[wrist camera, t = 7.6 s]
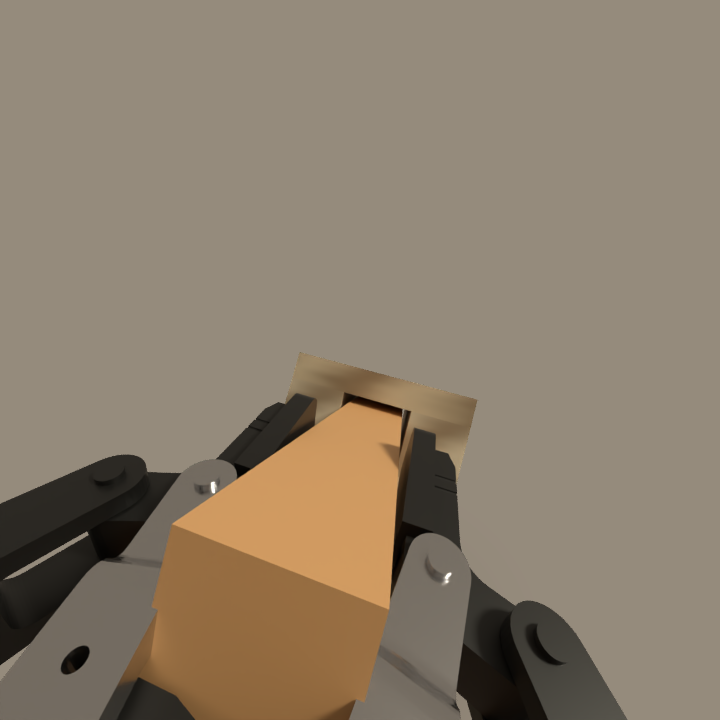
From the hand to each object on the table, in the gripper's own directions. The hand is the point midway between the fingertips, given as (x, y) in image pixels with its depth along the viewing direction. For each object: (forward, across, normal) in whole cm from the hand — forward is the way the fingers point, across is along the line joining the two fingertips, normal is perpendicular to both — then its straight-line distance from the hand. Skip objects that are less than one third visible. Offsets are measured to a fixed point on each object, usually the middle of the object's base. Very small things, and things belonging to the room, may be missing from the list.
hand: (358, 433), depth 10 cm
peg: (+1, 0, +4) cm, 4 cm away
